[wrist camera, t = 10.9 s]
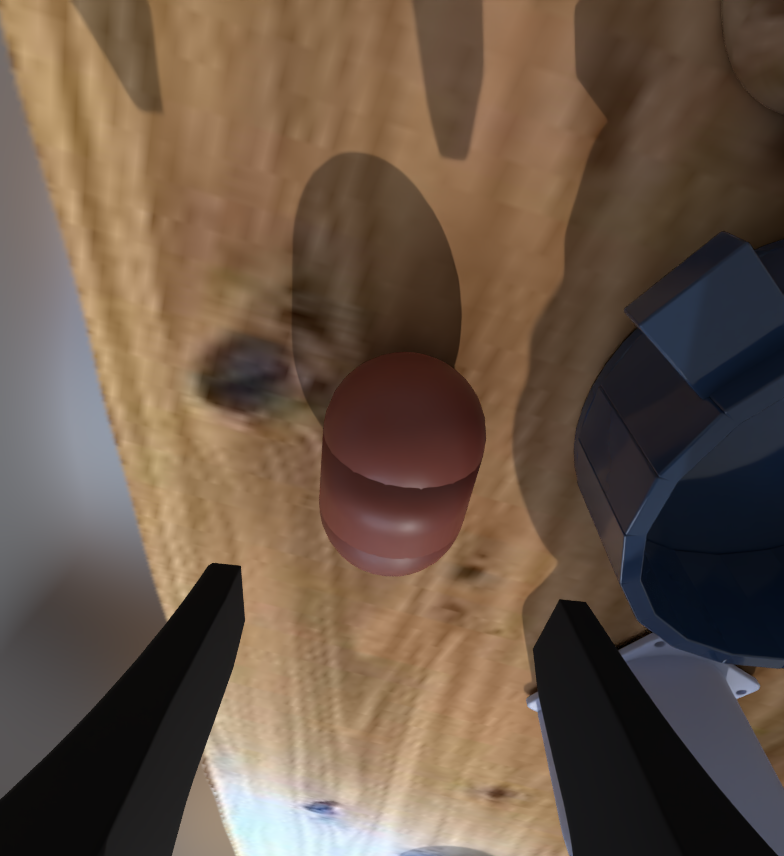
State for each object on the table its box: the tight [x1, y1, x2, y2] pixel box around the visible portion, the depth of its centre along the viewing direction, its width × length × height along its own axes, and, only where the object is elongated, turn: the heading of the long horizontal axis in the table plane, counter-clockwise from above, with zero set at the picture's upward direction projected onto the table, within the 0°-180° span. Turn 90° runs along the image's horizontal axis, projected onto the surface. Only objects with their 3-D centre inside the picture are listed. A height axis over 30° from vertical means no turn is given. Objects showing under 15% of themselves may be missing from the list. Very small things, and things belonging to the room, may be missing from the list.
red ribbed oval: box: [319, 352, 486, 576], centre depth 15 cm, size 8×5×5 cm, turn 173°
